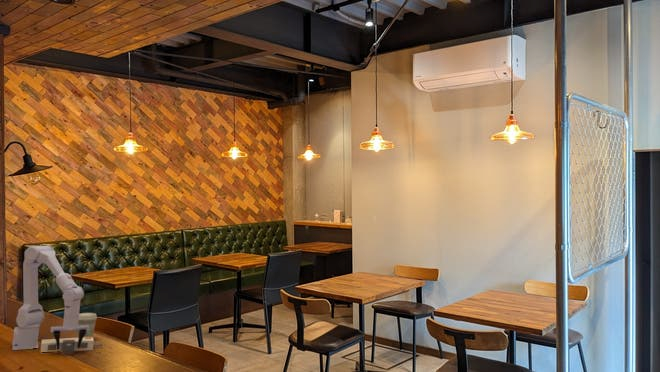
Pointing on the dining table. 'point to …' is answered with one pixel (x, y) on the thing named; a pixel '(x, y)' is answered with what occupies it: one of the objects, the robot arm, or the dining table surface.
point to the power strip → (51, 344)
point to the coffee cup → (87, 322)
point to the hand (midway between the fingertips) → (68, 348)
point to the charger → (68, 346)
